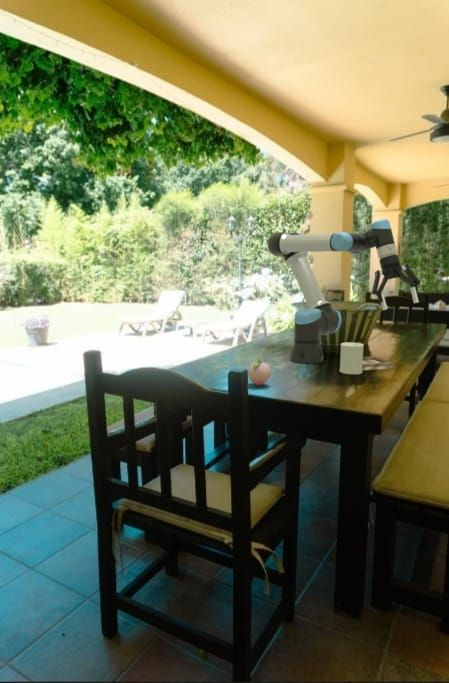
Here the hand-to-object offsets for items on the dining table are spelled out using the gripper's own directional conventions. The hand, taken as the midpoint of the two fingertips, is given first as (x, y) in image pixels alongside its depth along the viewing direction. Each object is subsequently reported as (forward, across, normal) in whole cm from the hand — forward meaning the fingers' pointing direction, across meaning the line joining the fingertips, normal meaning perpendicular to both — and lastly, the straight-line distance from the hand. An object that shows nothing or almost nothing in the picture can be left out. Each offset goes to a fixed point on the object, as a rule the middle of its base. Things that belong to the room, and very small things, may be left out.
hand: (400, 306), depth 187 cm
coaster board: (+22, -14, +13) cm, 29 cm away
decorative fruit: (+18, -66, -15) cm, 70 cm away
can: (+22, -26, +3) cm, 34 cm away
